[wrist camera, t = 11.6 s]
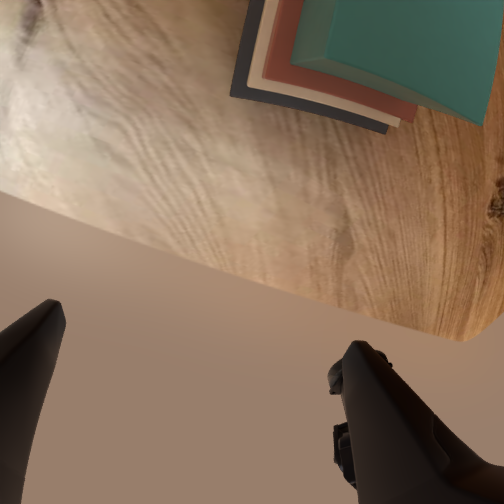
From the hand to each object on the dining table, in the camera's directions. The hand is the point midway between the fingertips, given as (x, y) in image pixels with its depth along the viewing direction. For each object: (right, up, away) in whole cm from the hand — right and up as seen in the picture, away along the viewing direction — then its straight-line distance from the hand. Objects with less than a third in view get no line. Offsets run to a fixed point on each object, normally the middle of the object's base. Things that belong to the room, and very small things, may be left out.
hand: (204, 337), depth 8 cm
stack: (+5, +15, +6) cm, 17 cm away
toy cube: (+6, +11, 0) cm, 12 cm away
